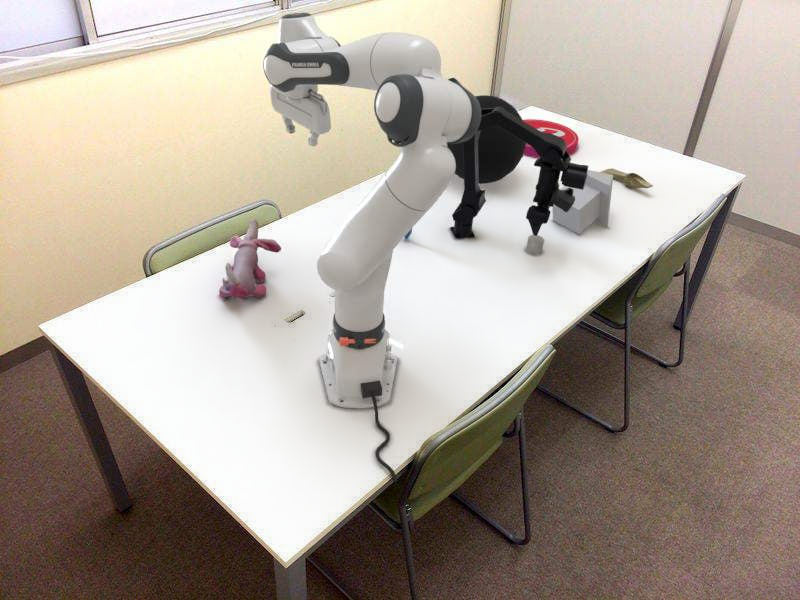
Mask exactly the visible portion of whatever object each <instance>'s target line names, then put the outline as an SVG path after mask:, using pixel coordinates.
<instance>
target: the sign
mask: <svg viewBox="0 0 800 600" xmlns="http://www.w3.org/2000/svg"><path fill="white" fill-rule="evenodd" d="M522 120H523V121H524V122H526V123H527V124H529V125H531V126H532V127H534V128H536V129H537V130H539V131H541V132H545V133H551V134H553V135H556V136H559V137H561V138H563V139H564V140H565V142H566V146H567V147H566V150H567V152H568V154H569V156H571V155H572V154H574V153H575V152H576V151H577V148H578V143H579V136H578V134H577V132H575V131H574V130H573V129H571V127H568V126H567V125H564V124H561V123H558V122H555V121H550V120H544V119H533V118H532V119H531V118H530V119H529V118H528V119H522ZM523 156H527V157H532V158H536V159H538V158H540V156H539V155H538V154H537V153H536V151H535V150H534V148H532V147H531V146H530V145H529V144H527V143H526V148H525V151H524V154H523Z"/></svg>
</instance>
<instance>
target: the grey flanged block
mask: <svg viewBox="0 0 800 600" xmlns="http://www.w3.org/2000/svg"><path fill="white" fill-rule="evenodd" d="M601 172H602V171H601ZM601 172H600V171H596V170H591V169H588V172H587V174H588V175H587V179H586V183H585V186H584V189H583V190H581V189H577V188H572V187H567V186H563V187H561V188H560V190H563V189H564V190H566V189H568V188H571V189H573V190H574V191H573V196H575V201H574V204H573V205H572V207H571V208H570V210H569V211H568V212H564V211H563V210H562V209H560V208H559V207H557V206H555V205H554V206H553V207H552V221H554V222H555V223H557V224H559V225H561V226H563V227H565V228H567V230H570V231H572V232H573V233H575V234H577V235H581V234H582V233H583V232H584V231H585V230H586V229H587V228H588V227H589V226H590V225H591V224H593V222H595V223H598V224H599V225H602V226H603V227H606V228H609V219H610V210H611V199H612V193H613V192H612V191H613V182H614V181H613V180H614V178H613V175H611V174H606V173H601Z"/></svg>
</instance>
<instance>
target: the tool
mask: <svg viewBox="0 0 800 600" xmlns="http://www.w3.org/2000/svg"><path fill="white" fill-rule="evenodd" d="M601 173H606V174H611V175H613V180H614V179H615V180H617V181H620V182H623V183H625V184H626V187H628V188H630V189H650V188H653V187H654V185H653V184H652V183H650V182H649V181H647V180H646V179H645V178H643V177H642V176H641V175H639V174H638V173H635V172H629V173H626V172H624V171H621V170H618V169H616V168H612V167H611V168H607V169H604V170H602V171H601Z"/></svg>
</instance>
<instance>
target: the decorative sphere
mask: <svg viewBox="0 0 800 600" xmlns="http://www.w3.org/2000/svg"><path fill="white" fill-rule="evenodd" d="M474 96H475V97H476V98H477V100H478V101H479V104H480V107H481V109H485V108H495V107H503V108H504V109H505V110H506V111H508V112H509V113H511V114H513V115H514V116H516V117H518V118H519V119H521V120H522V121H523V120H524V119H523V118H522V116H521V114H520V113H519V112H518V111H517V109H516V108H515V107H514V106H513V105H512V104H511V103H509V102H507V101H506V100H505V99H503V98H501V97H498V96H494V95H486V94H485V95H482V94H481V95H474ZM447 147H448V148H449V149H450V151H451V152H452V154H453V156H454V158H455V162H456V170H455V173H454V175H456V176H457V177H458V178H460V179H463V180H464V162H463V144H462V142H461V143H456V144H448V143H447ZM525 148H526V143H525V142H524V141H522V140H520V139H519V138H517V137H515V136H514V135H512V134H510V133H509V132H507V131H506V130H504V129H502V128H501V127H499V126H497V125H494V126H490V127H488V128H485V129H482V130H481V132H480V136H479V139H478V168H479V185H486V184H491V183H496V182H499V181H500V180H503V179H504V178H505V177H507V176H509V174H511V173H512V172H514V171H515V169H516V168H517V166H518V165H519V163H520V162H521V160H522V159H523V157H524V155H523V154H524V151H525Z"/></svg>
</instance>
